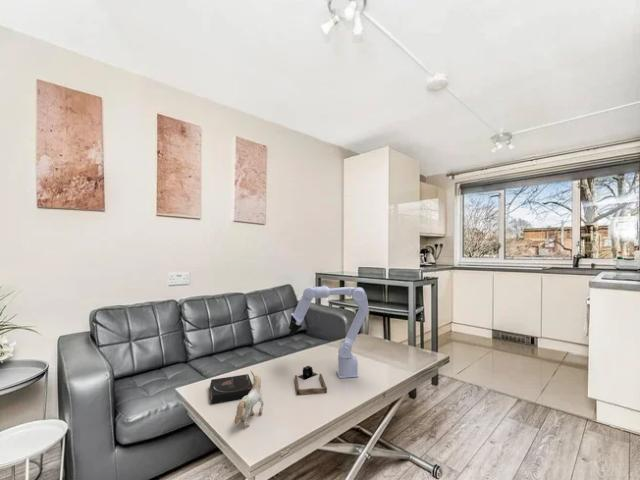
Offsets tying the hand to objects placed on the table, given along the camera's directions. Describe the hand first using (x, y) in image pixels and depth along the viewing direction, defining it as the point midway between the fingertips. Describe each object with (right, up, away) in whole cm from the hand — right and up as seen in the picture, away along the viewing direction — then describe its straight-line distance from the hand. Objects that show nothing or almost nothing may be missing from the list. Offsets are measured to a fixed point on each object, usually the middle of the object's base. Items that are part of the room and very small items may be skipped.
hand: (290, 332), depth 155 cm
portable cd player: (-24, -20, -24) cm, 39 cm away
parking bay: (+11, -19, -18) cm, 28 cm away
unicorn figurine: (-13, -18, -43) cm, 49 cm away
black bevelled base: (+9, -20, -6) cm, 23 cm away
